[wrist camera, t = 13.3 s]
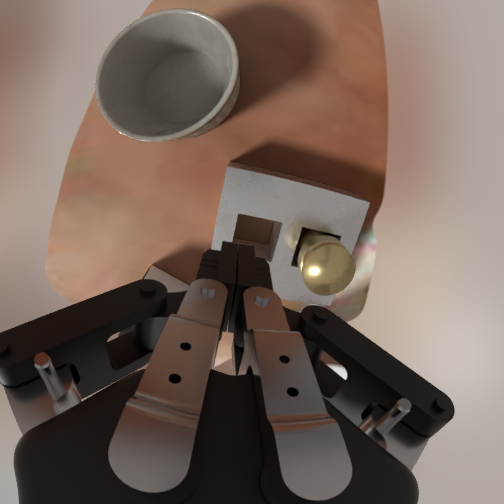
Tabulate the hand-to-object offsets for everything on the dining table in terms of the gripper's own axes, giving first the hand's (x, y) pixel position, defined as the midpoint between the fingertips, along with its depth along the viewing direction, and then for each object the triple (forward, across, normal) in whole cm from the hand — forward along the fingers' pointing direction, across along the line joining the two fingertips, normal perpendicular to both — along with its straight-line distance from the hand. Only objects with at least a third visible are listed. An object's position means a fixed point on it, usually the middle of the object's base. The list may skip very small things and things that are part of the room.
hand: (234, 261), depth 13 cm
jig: (+21, -6, +5) cm, 22 cm away
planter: (+21, +8, -10) cm, 25 cm away
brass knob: (+21, -10, +6) cm, 24 cm away
